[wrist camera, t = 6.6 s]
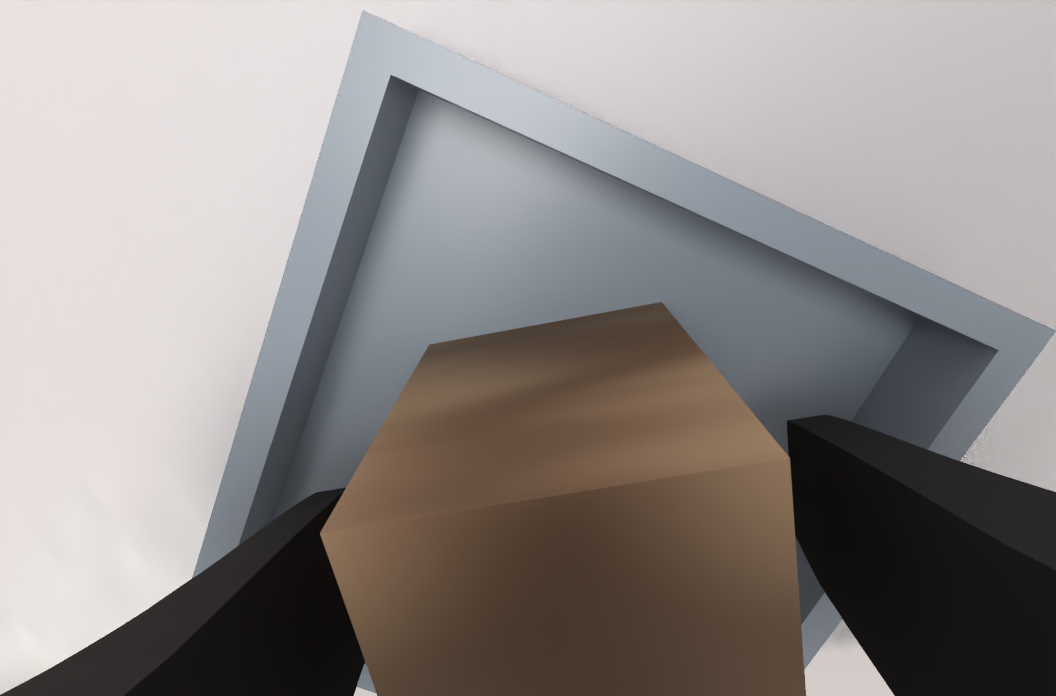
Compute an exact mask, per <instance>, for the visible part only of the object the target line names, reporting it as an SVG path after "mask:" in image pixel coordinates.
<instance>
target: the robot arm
mask: <svg viewBox="0 0 1056 696" xmlns="http://www.w3.org/2000/svg"><path fill="white" fill-rule="evenodd" d="M787 437H788V456H789V458H790V466H791V481H792V496H793V510H794V525H795V536H796V538H797V540H798V542H799V544H800V546H801V548H802V551H803V553H804V555H805V557H806V559H807V561H808V563H809V565H810V567H811V568H812V570H813V572H814V574H815V576H816V578H817V580H818V582H819V584H820V586H821V587H822V589H823V590H824V592H825V593H826V595H827V596H828V598H829V599H830V601H831V602H832V604H833V605H834V607H835V608H836V610H837V611H838V613H839V614H840V616H841V617H842V619H843V620H844V622H845V623H846V625H847V626H848V628H849V629H850V631H851V632H852V634H853V635H854V637H855V638H856V639H857V641H858V642H859V644H860V645H861V647H862V648H863V650H864V651H865V653H866V654H867V656H868V657H869V658H870V660H871V661H872V663H873V664H874V666H875V667H876V669H877V670H878V672H879V673H880V675H881V676H882V678H883V679H884V681H885V682H886V683H887V685H888V686H889V688H890V689H891V691H892V692H893V694H894V695H895V696H1056V492H1053V491H1050V490H1047V489H1043V488H1040V487H1037V486H1034V485H1031V484H1028V483H1024V482H1021V481H1018V480H1015V479H1012V478H1009V477H1005V476H1002V475H999V474H996V473H993V472H990V471H987V470H984V469H981V468H978V467H975V466H972V465H969V464H966V463H963V462H961V461H958V460H955V459H952V458H949V457H947V456H944V455H941V454H938V453H935V452H933V451H930V450H927V449H925V448H922V447H919V446H916V445H914V444H911V443H908V442H906V441H903V440H900V439H898V438H895V437H892V436H889V435H887V434H884V433H881V432H879V431H876V430H873V429H871V428H868V427H865V426H862V425H859V424H857V423H854V422H851V421H848V420H845V419H841V418H838V417H834V416H830V415H819V416H812V417H806V418H799V419H793V420H787ZM345 489H346V488H340V489H334V490H327V491H321V492H316V493H314V494H312V495H311V496H309V497H307V498H305V499H304V500H302V501H300V502H299V503H297V504H296V505H294V506H293V507H291V508H290V509H289V510H287V511H286V512H284V513H283V514H281V515H280V516H279V517H277V518H276V519H274V520H273V521H272V522H270V523H269V524H267V525H266V526H265V527H263V528H262V529H261V530H259V531H258V532H257V533H255V534H254V535H252V536H251V537H250V538H248V539H247V540H246V541H244V542H243V543H241V544H240V545H239V546H237V547H236V548H235V549H233V550H232V551H230V552H229V553H228V554H226V555H225V556H224V557H222V558H221V559H219V560H218V561H217V562H215V563H214V564H213V565H211V566H210V567H208V568H207V569H205V570H204V571H203V572H201V573H200V574H198V575H197V576H195V577H194V578H192V579H191V580H189V581H188V582H187V583H185V584H184V585H182V586H181V587H179V588H178V589H176V590H175V591H173V592H172V593H171V594H169V595H168V596H166V597H165V598H163V599H162V600H160V601H159V602H157V603H156V604H155V605H153V606H152V607H150V608H149V609H147V610H146V611H144V612H143V613H141V614H139V615H138V616H136V617H135V618H133V619H132V620H130V621H129V622H127V623H125V624H124V625H122V626H121V627H119V628H117V629H116V630H114V631H113V632H111V633H109V634H108V635H106V636H105V637H103V638H101V639H99V640H98V641H96V642H94V643H93V644H91V645H89V646H88V647H86V648H84V649H83V650H81V651H79V652H78V653H76V654H74V655H73V656H71V657H69V658H67V659H66V660H64V661H62V662H61V663H59V664H57V665H55V666H54V667H52V668H50V669H48V670H47V671H45V672H43V673H41V674H39V675H37V676H35V677H33V678H32V679H30V680H28V681H26V682H24V683H22V684H20V685H18V686H16V687H15V688H13V689H11V690H9V691H7V692H5V693H3V694H1V695H0V696H353V695H354V692H355V690H356V687H357V684H358V681H359V678H360V675H361V672H362V669H363V666H364V663H365V659H364V656H363V654H362V651H361V648H360V645H359V642H358V640H357V637H356V634H355V631H354V628H353V625H352V623H351V620H350V617H349V614H348V611H347V609H346V606H345V603H344V600H343V597H342V594H341V592H340V589H339V586H338V583H337V580H336V578H335V575H334V572H333V569H332V566H331V563H330V561H329V558H328V555H327V552H326V549H325V547H324V544H323V541H322V538H321V535H320V532H321V530H322V529H323V527H324V525H325V524H326V522H327V520H328V518H329V517H330V515H331V513H332V511H333V510H334V508H335V506H336V505H337V503H338V501H339V499H340V498H341V496H342V494H343V492H344V491H345Z"/></svg>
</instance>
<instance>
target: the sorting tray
mask: <svg viewBox="0 0 1056 696" xmlns="http://www.w3.org/2000/svg"><path fill="white" fill-rule="evenodd" d="M659 302H662V303H663V304H664V305H665V306H666V308H667V309H668V310H669V311H670V313H671V314H672V315H673V316H674V317H675V319H676V320H677V321H678V322H679V324H680V325H681V326H682V327H683V328H684V330H685V331H686V332H687V333H688V334H689V336H690V337H691V338H692V339H693V341H694V342H695V343H696V344H697V345H698V347H699V348H700V349H701V350H702V352H703V353H704V354H705V355H706V356H707V358H708V359H709V360H710V361H711V362H712V364H713V365H714V366H715V367H716V369H717V370H718V371H719V372H720V373H721V375H722V376H723V377H724V378H725V380H726V381H727V382H728V383H729V384H730V386H731V387H732V388H733V389H734V391H735V392H736V393H737V394H738V395H739V397H740V398H741V399H742V400H743V401H744V403H745V404H746V405H747V406H748V408H749V409H750V410H751V411H752V412H753V414H754V415H755V416H756V417H757V419H758V420H759V421H760V422H761V423H762V425H763V426H764V427H765V428H766V430H767V431H768V432H769V433H770V434H771V436H772V437H773V438H774V439H775V440H776V442H777V443H778V444H779V445H780V447H781V448H782V449H783V450H784V451H785V453H786V454H787V455H788V437H787V420H793V419H799V418H806V417H812V416H819V415H830V416H834V417H838V418H841V419H845V420H848V421H851V422H854V423H857V424H859V425H862V426H865V427H868V428H871V429H873V430H876V431H879V432H881V433H884V434H887V435H889V436H892V437H895V438H898V439H900V440H903V441H906V442H908V443H911V444H914V445H916V446H919V447H922V448H925V449H927V450H930V451H933V452H935V453H938V454H941V455H944V456H947V457H949V458H952V459H955V460H958V461H960V460H961V458H962V457H963V456H964V454H965V453H966V452H967V450H968V449H969V448H970V446H971V445H972V443H973V442H974V441H975V439H976V438H977V437H978V435H979V434H980V433H981V431H982V430H983V429H984V427H985V426H986V425H987V423H988V422H989V421H990V419H991V418H992V417H993V415H994V414H995V413H996V411H997V410H998V408H999V407H1000V406H1001V404H1002V403H1003V402H1004V400H1005V399H1006V398H1007V396H1008V395H1009V394H1010V392H1011V391H1012V390H1013V388H1014V387H1015V386H1016V384H1017V383H1018V382H1019V380H1020V379H1021V378H1022V376H1023V375H1024V374H1025V372H1026V371H1027V369H1028V368H1029V367H1030V365H1031V364H1032V363H1033V361H1034V360H1035V359H1036V357H1037V356H1038V355H1039V353H1040V352H1041V351H1042V349H1043V348H1044V347H1045V345H1046V344H1047V343H1048V341H1049V340H1050V339H1051V337H1052V336H1053V334H1054V333H1055V332H1056V331H1055V330H1053V329H1051V328H1048V327H1046V326H1044V325H1042V324H1040V323H1038V322H1035V321H1033V320H1031V319H1029V318H1027V317H1025V316H1023V315H1020V314H1018V313H1016V312H1014V311H1012V310H1010V309H1007V308H1005V307H1003V306H1001V305H999V304H997V303H994V302H992V301H990V300H988V299H986V298H984V297H982V296H979V295H977V294H975V293H973V292H971V291H969V290H966V289H964V288H962V287H960V286H958V285H956V284H953V283H951V282H949V281H947V280H945V279H943V278H940V277H938V276H936V275H934V274H932V273H930V272H928V271H925V270H923V269H921V268H919V267H917V266H915V265H912V264H910V263H908V262H906V261H904V260H902V259H899V258H897V257H895V256H893V255H891V254H889V253H887V252H884V251H882V250H880V249H878V248H876V247H874V246H871V245H869V244H867V243H865V242H863V241H861V240H858V239H856V238H854V237H852V236H850V235H848V234H845V233H843V232H841V231H839V230H837V229H835V228H833V227H830V226H828V225H826V224H824V223H822V222H820V221H817V220H815V219H813V218H811V217H809V216H807V215H804V214H802V213H800V212H798V211H796V210H794V209H791V208H789V207H787V206H785V205H783V204H781V203H779V202H776V201H774V200H772V199H770V198H768V197H766V196H763V195H761V194H759V193H757V192H755V191H753V190H750V189H748V188H746V187H744V186H742V185H740V184H738V183H735V182H733V181H731V180H729V179H727V178H725V177H722V176H720V175H718V174H716V173H714V172H712V171H709V170H707V169H705V168H703V167H701V166H699V165H696V164H694V163H692V162H690V161H688V160H686V159H684V158H681V157H679V156H677V155H675V154H673V153H671V152H668V151H666V150H664V149H662V148H660V147H658V146H655V145H653V144H651V143H649V142H647V141H645V140H643V139H640V138H638V137H636V136H634V135H632V134H630V133H627V132H625V131H623V130H621V129H619V128H617V127H614V126H612V125H610V124H608V123H606V122H604V121H601V120H599V119H597V118H595V117H593V116H591V115H589V114H586V113H584V112H582V111H580V110H578V109H576V108H573V107H571V106H569V105H567V104H565V103H563V102H560V101H558V100H556V99H554V98H552V97H550V96H547V95H545V94H543V93H541V92H539V91H537V90H535V89H532V88H530V87H528V86H526V85H524V84H522V83H519V82H517V81H515V80H513V79H511V78H509V77H506V76H504V75H502V74H500V73H498V72H496V71H494V70H491V69H489V68H487V67H485V66H483V65H481V64H478V63H476V62H474V61H472V60H470V59H468V58H465V57H463V56H461V55H459V54H457V53H455V52H452V51H450V50H448V49H446V48H444V47H442V46H440V45H437V44H435V43H433V42H431V41H429V40H427V39H424V38H422V37H420V36H418V35H416V34H414V33H411V32H409V31H407V30H405V29H403V28H401V27H398V26H396V25H394V24H392V23H390V22H388V21H386V20H383V19H381V18H379V17H377V16H375V15H373V14H370V13H368V12H366V11H364V10H363V11H362V14H361V18H360V21H359V24H358V28H357V31H356V34H355V38H354V41H353V44H352V48H351V51H350V54H349V58H348V61H347V64H346V68H345V71H344V74H343V78H342V81H341V84H340V88H339V91H338V94H337V98H336V101H335V104H334V108H333V111H332V114H331V118H330V121H329V124H328V128H327V131H326V134H325V138H324V141H323V144H322V148H321V151H320V154H319V158H318V161H317V164H316V168H315V171H314V174H313V178H312V181H311V184H310V188H309V191H308V194H307V198H306V201H305V204H304V208H303V211H302V214H301V218H300V221H299V224H298V228H297V231H296V234H295V238H294V241H293V244H292V248H291V251H290V254H289V258H288V261H287V264H286V268H285V271H284V274H283V278H282V281H281V284H280V288H279V291H278V294H277V298H276V301H275V304H274V308H273V311H272V314H271V318H270V321H269V324H268V328H267V331H266V334H265V338H264V341H263V344H262V348H261V351H260V354H259V358H258V361H257V364H256V368H255V371H254V374H253V378H252V381H251V384H250V388H249V391H248V394H247V398H246V401H245V404H244V408H243V411H242V414H241V418H240V421H239V424H238V428H237V431H236V434H235V438H234V441H233V444H232V448H231V451H230V454H229V458H228V461H227V464H226V468H225V471H224V474H223V478H222V481H221V484H220V488H219V491H218V494H217V498H216V501H215V504H214V508H213V511H212V514H211V518H210V521H209V524H208V528H207V531H206V534H205V538H204V541H203V544H202V548H201V551H200V554H199V558H198V561H197V564H196V568H195V571H194V574H193V578H194V577H195V576H197V575H198V574H200V573H201V572H203V571H204V570H205V569H207V568H208V567H210V566H211V565H213V564H214V563H215V562H217V561H218V560H219V559H221V558H222V557H224V556H225V555H226V554H228V553H229V552H230V551H232V550H233V549H235V548H236V547H237V546H239V545H240V544H241V543H243V542H244V541H246V540H247V539H248V538H250V537H251V536H252V535H254V534H255V533H257V532H258V531H259V530H261V529H262V528H263V527H265V526H266V525H267V524H269V523H270V522H272V521H273V520H274V519H276V518H277V517H279V516H280V515H281V514H283V513H284V512H286V511H287V510H289V509H290V508H291V507H293V506H294V505H296V504H297V503H299V502H300V501H302V500H304V499H305V498H307V497H309V496H311V495H312V494H314V493H316V492H321V491H327V490H334V489H340V488H346V487H347V486H348V484H349V482H350V480H351V479H352V477H353V475H354V473H355V472H356V470H357V468H358V467H359V465H360V463H361V461H362V460H363V458H364V456H365V454H366V453H367V451H368V449H369V448H370V446H371V444H372V442H373V441H374V439H375V437H376V435H377V434H378V432H379V430H380V429H381V427H382V425H383V423H384V422H385V420H386V418H387V416H388V415H389V413H390V411H391V410H392V408H393V406H394V404H395V403H396V401H397V399H398V397H399V396H400V394H401V392H402V391H403V389H404V387H405V385H406V384H407V382H408V380H409V378H410V377H411V375H412V373H413V372H414V370H415V368H416V366H417V365H418V363H419V361H420V359H421V358H422V356H423V354H424V353H425V351H426V349H427V347H428V346H429V344H435V343H440V342H446V341H451V340H457V339H462V338H468V337H473V336H479V335H484V334H489V333H495V332H500V331H506V330H511V329H517V328H522V327H528V326H533V325H539V324H544V323H550V322H555V321H560V320H566V319H571V318H577V317H582V316H588V315H593V314H599V313H604V312H610V311H615V310H621V309H626V308H631V307H637V306H642V305H648V304H653V303H659ZM795 540H796V555H797V570H798V585H799V600H800V615H801V630H802V645H803V660H804V670H805V668H806V667H807V665H808V664H809V663H810V661H811V660H812V658H813V657H814V656H815V655H816V653H817V652H818V651H819V649H820V648H821V647H822V645H823V644H824V643H825V641H826V640H827V639H828V637H829V636H830V635H831V633H832V632H833V630H834V629H835V628H836V626H837V625H838V624H839V622H840V621H841V620H842V617H841V616H840V614H839V613H838V611H837V610H836V608H835V607H834V605H833V604H832V602H831V601H830V599H829V598H828V596H827V595H826V593H825V592H824V590H823V589H822V587H821V586H820V584H819V582H818V580H817V578H816V576H815V574H814V572H813V570H812V568H811V567H810V565H809V563H808V561H807V559H806V557H805V555H804V553H803V551H802V548H801V546H800V544H799V542H798V540H797V538H796V536H795ZM357 687H360V688H362V689H365V690H369V691H371V692H375V693H376V690H375V687H374V685H373V682H372V679H371V676H370V673H369V670H368V668H367V665H366V662H365V663H364V666H363V669H362V672H361V675H360V678H359V681H358V684H357Z"/></svg>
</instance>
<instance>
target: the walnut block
mask: <svg viewBox="0 0 1056 696" xmlns="http://www.w3.org/2000/svg"><path fill="white" fill-rule="evenodd" d="M320 535H321V538H322V541H323V544H324V547H325V549H326V552H327V555H328V558H329V561H330V563H331V566H332V569H333V572H334V575H335V578H336V580H337V583H338V586H339V589H340V592H341V594H342V597H343V600H344V603H345V606H346V609H347V611H348V614H349V617H350V620H351V623H352V625H353V628H354V631H355V634H356V637H357V640H358V642H359V645H360V648H361V651H362V654H363V656H364V659H365V662H366V665H367V668H368V670H369V673H370V676H371V679H372V682H373V685H374V687H375V690H376V693H377V696H806V690H805V675H804V660H803V645H802V630H801V615H800V600H799V585H798V570H797V555H796V540H795V525H794V510H793V496H792V481H791V466H790V458H789V456H788V455H787V454H786V453H785V451H784V450H783V449H782V448H781V447H780V445H779V444H778V443H777V442H776V440H775V439H774V438H773V437H772V436H771V434H770V433H769V432H768V431H767V430H766V428H765V427H764V426H763V425H762V423H761V422H760V421H759V420H758V419H757V417H756V416H755V415H754V414H753V412H752V411H751V410H750V409H749V408H748V406H747V405H746V404H745V403H744V401H743V400H742V399H741V398H740V397H739V395H738V394H737V393H736V392H735V391H734V389H733V388H732V387H731V386H730V384H729V383H728V382H727V381H726V380H725V378H724V377H723V376H722V375H721V373H720V372H719V371H718V370H717V369H716V367H715V366H714V365H713V364H712V362H711V361H710V360H709V359H708V358H707V356H706V355H705V354H704V353H703V352H702V350H701V349H700V348H699V347H698V345H697V344H696V343H695V342H694V341H693V339H692V338H691V337H690V336H689V334H688V333H687V332H686V331H685V330H684V328H683V327H682V326H681V325H680V324H679V322H678V321H677V320H676V319H675V317H674V316H673V315H672V314H671V313H670V311H669V310H668V309H667V308H666V306H665V305H664V304H663V303H662V302H659V303H653V304H648V305H642V306H637V307H631V308H626V309H621V310H615V311H610V312H604V313H599V314H593V315H588V316H582V317H577V318H571V319H566V320H560V321H555V322H550V323H544V324H539V325H533V326H528V327H522V328H517V329H511V330H506V331H500V332H495V333H489V334H484V335H479V336H473V337H468V338H462V339H457V340H451V341H446V342H440V343H435V344H429V346H428V347H427V349H426V351H425V353H424V354H423V356H422V358H421V359H420V361H419V363H418V365H417V366H416V368H415V370H414V372H413V373H412V375H411V377H410V378H409V380H408V382H407V384H406V385H405V387H404V389H403V391H402V392H401V394H400V396H399V397H398V399H397V401H396V403H395V404H394V406H393V408H392V410H391V411H390V413H389V415H388V416H387V418H386V420H385V422H384V423H383V425H382V427H381V429H380V430H379V432H378V434H377V435H376V437H375V439H374V441H373V442H372V444H371V446H370V448H369V449H368V451H367V453H366V454H365V456H364V458H363V460H362V461H361V463H360V465H359V467H358V468H357V470H356V472H355V473H354V475H353V477H352V479H351V480H350V482H349V484H348V486H347V487H346V489H345V491H344V492H343V494H342V496H341V498H340V499H339V501H338V503H337V505H336V506H335V508H334V510H333V511H332V513H331V515H330V517H329V518H328V520H327V522H326V524H325V525H324V527H323V529H322V530H321V532H320Z"/></svg>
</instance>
